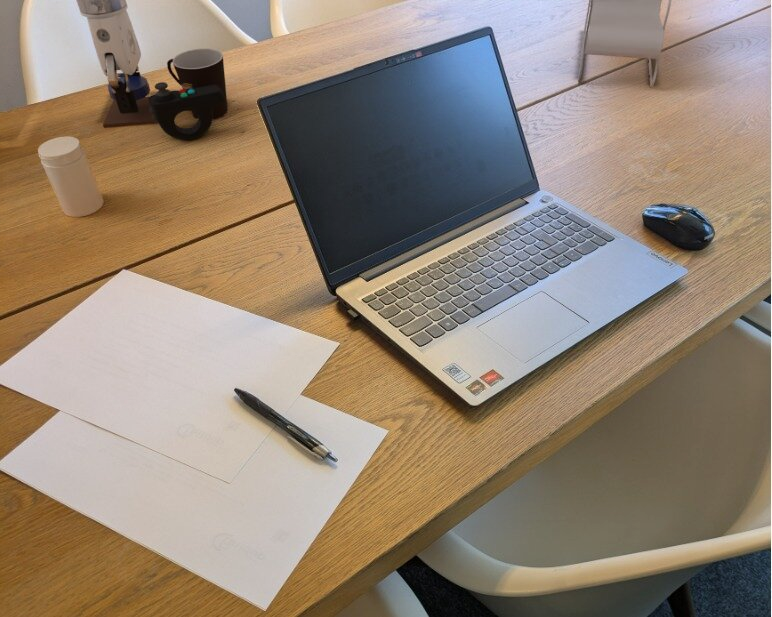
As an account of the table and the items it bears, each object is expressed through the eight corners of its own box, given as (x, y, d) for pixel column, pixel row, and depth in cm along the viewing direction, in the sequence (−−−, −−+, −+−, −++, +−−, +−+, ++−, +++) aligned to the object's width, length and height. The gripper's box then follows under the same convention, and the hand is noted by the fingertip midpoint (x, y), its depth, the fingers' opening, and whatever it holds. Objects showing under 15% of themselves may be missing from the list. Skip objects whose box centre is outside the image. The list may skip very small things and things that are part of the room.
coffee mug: (241, 114, 120) (230, 60, 113) (197, 128, 117) (183, 73, 110) (215, 91, 127) (204, 39, 120) (173, 104, 124) (159, 51, 117)
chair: (648, 40, 138) (673, -64, 125) (652, 93, 121) (681, -22, 107) (582, 36, 141) (600, -66, 127) (577, 87, 123) (596, -25, 110)
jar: (58, 218, 98) (30, 158, 91) (68, 196, 102) (42, 137, 95) (99, 215, 98) (75, 155, 91) (107, 193, 102) (85, 134, 95)
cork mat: (103, 127, 118) (102, 124, 118) (114, 102, 125) (113, 99, 125) (160, 123, 119) (159, 119, 118) (167, 98, 126) (166, 95, 125)
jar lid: (152, 84, 122) (150, 74, 121) (146, 100, 117) (144, 90, 116) (114, 86, 122) (111, 76, 120) (107, 103, 117) (103, 93, 115)
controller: (158, 137, 115) (142, 82, 108) (228, 123, 118) (216, 68, 111) (161, 149, 112) (145, 93, 105) (233, 134, 115) (221, 78, 108)
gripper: (114, 18, 102) (146, 123, 115) (133, -18, 115) (160, 81, 127) (65, 21, 102) (102, 127, 114) (89, -15, 114) (121, 83, 127)
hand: (133, 102), depth 121 cm, fingers closed on jar lid, 6 cm apart
